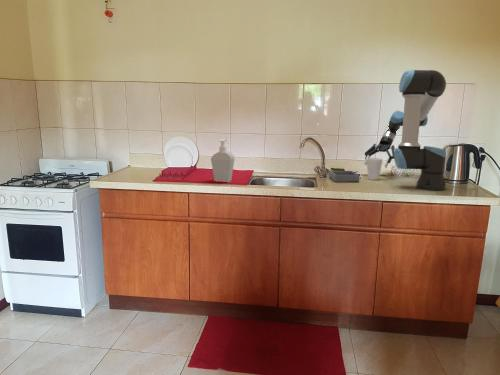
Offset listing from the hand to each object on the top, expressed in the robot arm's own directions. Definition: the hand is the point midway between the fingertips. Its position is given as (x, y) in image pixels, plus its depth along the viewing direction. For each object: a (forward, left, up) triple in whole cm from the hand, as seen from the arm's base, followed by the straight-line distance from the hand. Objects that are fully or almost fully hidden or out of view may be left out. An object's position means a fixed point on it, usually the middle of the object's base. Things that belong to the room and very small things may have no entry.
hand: (375, 165), depth 242 cm
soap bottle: (-9, +96, -9) cm, 97 cm away
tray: (-6, +21, -8) cm, 24 cm away
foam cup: (-2, +1, -9) cm, 9 cm away
